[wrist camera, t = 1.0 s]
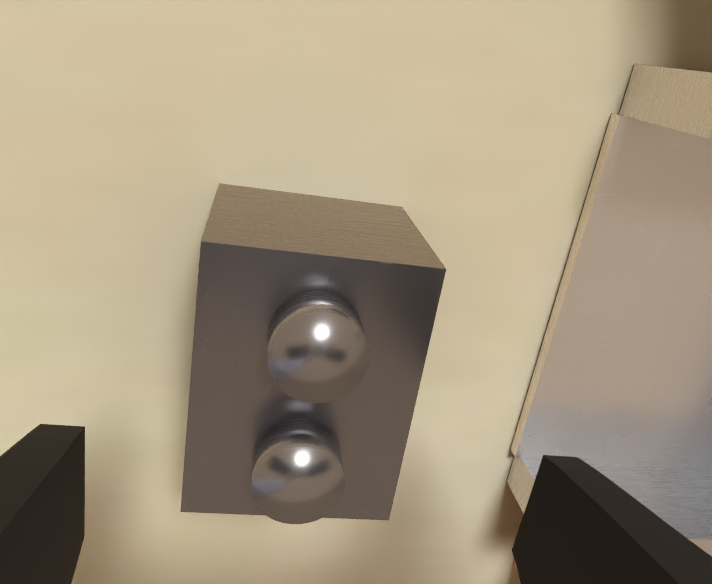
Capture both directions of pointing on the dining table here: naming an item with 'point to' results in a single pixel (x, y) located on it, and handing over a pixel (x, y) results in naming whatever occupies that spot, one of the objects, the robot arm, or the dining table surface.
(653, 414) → the chassis
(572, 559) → the robot arm
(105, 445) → the dining table surface
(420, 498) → the dining table surface
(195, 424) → the block
